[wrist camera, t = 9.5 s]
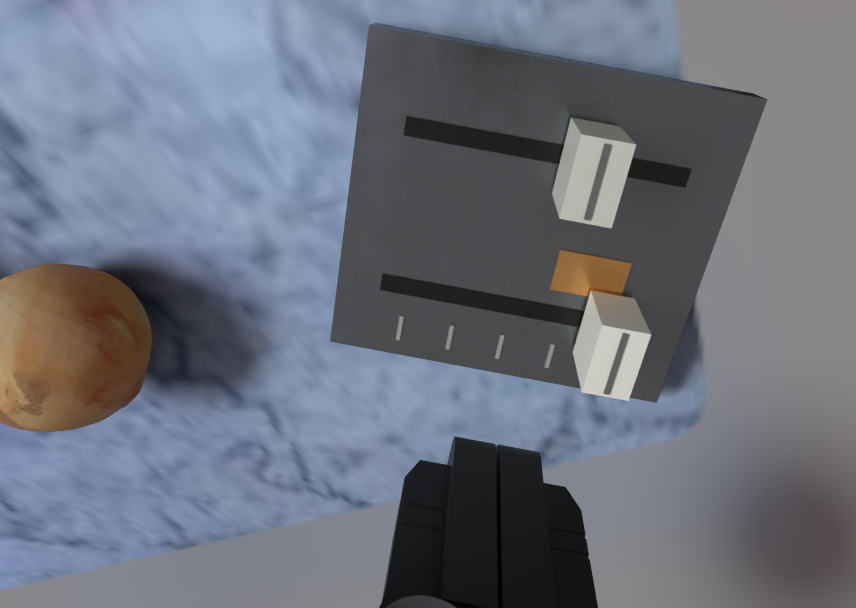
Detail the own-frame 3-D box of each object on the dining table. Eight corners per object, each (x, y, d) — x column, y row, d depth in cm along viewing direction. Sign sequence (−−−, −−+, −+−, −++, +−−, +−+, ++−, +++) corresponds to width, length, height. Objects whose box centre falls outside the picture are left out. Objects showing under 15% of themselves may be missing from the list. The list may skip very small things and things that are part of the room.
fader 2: (590, 290, 39) (602, 326, 35) (634, 298, 39) (651, 335, 35) (572, 352, 41) (582, 393, 37) (614, 360, 41) (628, 401, 37)
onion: (62, 207, 42) (-54, 268, 33) (205, 299, 44) (132, 381, 35) (6, 321, 46) (-113, 404, 37) (140, 402, 48) (58, 500, 39)
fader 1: (571, 117, 35) (581, 134, 31) (619, 126, 35) (636, 145, 31) (552, 193, 37) (559, 219, 33) (598, 202, 37) (611, 229, 33)
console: (375, 23, 37) (368, 25, 35) (753, 93, 36) (768, 99, 35) (337, 326, 44) (329, 342, 42) (649, 385, 44) (657, 403, 42)
